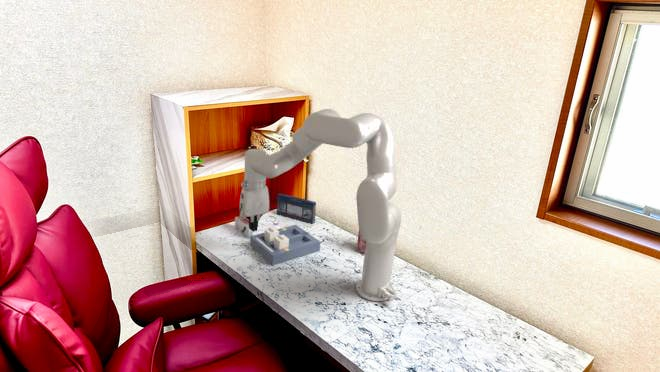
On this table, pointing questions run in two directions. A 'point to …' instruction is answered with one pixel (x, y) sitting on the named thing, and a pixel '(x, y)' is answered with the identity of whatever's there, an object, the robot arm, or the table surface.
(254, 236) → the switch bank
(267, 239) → the tab
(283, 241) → the tab
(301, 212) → the vhs cassette tape
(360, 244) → the soda can
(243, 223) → the ink box
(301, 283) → the table surface
